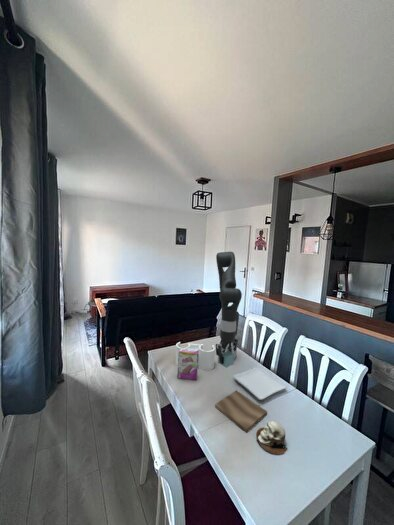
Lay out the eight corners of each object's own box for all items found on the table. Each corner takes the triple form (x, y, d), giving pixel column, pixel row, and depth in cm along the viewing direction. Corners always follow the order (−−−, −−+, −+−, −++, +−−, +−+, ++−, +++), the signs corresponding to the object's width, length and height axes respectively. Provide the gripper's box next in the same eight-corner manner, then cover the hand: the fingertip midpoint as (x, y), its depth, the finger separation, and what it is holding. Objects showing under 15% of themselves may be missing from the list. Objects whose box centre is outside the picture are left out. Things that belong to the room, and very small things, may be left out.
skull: (262, 455, 82) (257, 421, 88) (255, 452, 90) (251, 421, 96) (294, 454, 82) (287, 420, 88) (284, 452, 90) (278, 421, 96)
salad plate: (287, 391, 120) (288, 385, 119) (260, 405, 108) (260, 399, 108) (257, 371, 138) (258, 365, 137) (231, 381, 126) (232, 375, 126)
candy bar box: (177, 378, 126) (178, 351, 124) (178, 373, 131) (179, 347, 129) (196, 380, 125) (198, 353, 123) (197, 375, 129) (199, 348, 128)
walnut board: (236, 393, 116) (236, 390, 116) (266, 414, 103) (267, 411, 102) (215, 407, 106) (215, 404, 105) (246, 432, 92) (246, 429, 92)
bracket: (173, 366, 137) (174, 348, 136) (177, 358, 147) (177, 341, 146) (213, 371, 135) (214, 352, 133) (214, 362, 144) (215, 345, 143)
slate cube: (225, 359, 113) (226, 349, 113) (233, 364, 109) (234, 353, 108) (217, 362, 110) (218, 352, 109) (225, 367, 105) (226, 356, 105)
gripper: (232, 323, 115) (229, 354, 117) (212, 328, 106) (210, 362, 107) (243, 328, 109) (241, 360, 111) (223, 334, 100) (221, 369, 102)
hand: (225, 361), depth 109 cm, fingers closed on slate cube, 5 cm apart
